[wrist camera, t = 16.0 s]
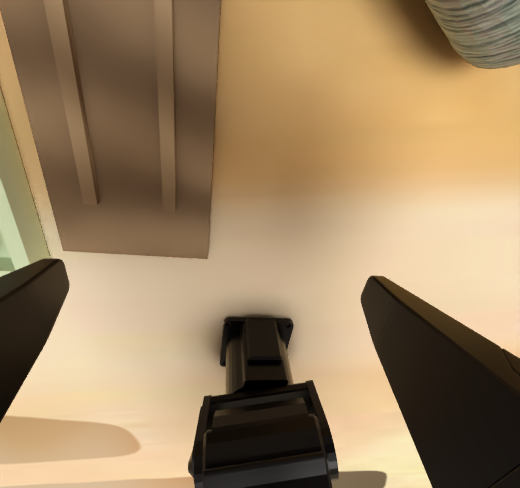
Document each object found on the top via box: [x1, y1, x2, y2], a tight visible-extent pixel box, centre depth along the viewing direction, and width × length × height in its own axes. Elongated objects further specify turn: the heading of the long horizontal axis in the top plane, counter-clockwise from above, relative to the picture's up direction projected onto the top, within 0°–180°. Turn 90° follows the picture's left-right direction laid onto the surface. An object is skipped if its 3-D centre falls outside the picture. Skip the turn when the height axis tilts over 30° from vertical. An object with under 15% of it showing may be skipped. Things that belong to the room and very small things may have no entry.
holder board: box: [0, 0, 221, 259], centre depth 15 cm, size 22×10×1 cm, turn 172°
